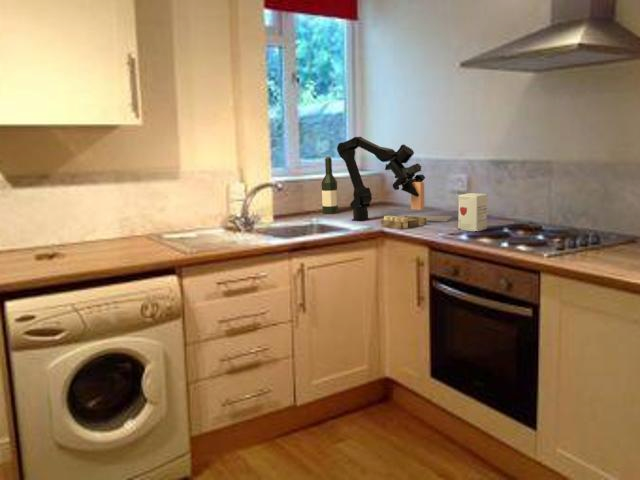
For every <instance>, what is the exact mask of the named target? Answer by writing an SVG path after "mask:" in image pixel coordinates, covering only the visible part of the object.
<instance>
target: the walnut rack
mask: <svg viewBox="0 0 640 480" xmlns="http://www.w3.org/2000/svg"><path fill="white" fill-rule="evenodd" d="M413 216H414V215H404V217H406V218H408V228H406V229H405V230H407V229H412V228H417V227H421V226H427V222H426V218H422V217H413ZM381 228H388V229H393V230H394V229H395V230H404V229H403V222H396V221H388V220H384V219H381Z"/></svg>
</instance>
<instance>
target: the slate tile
mask: <svg viewBox="0 0 640 480" xmlns="http://www.w3.org/2000/svg"><path fill="white" fill-rule="evenodd" d="M412 216H413V217H422V218H426V223H431V222H432V223H447V222H448V221H452V220H453V216H452V215H451V216H450V215H449V216H448V215H444V216H443V215H412Z"/></svg>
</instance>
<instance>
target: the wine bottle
mask: <svg viewBox="0 0 640 480" xmlns="http://www.w3.org/2000/svg"><path fill="white" fill-rule="evenodd" d="M324 162H325V163H324V165H325V175H324V177H323V179H322V181H321V201H322V214H323V215H335V214H338V213H339V201H338V200H339V198H338V196H339V195H338V180H337V179H336V178H335V176H334V175H333V165H332V163H333V162H332V158H331V156H326V157H325V159H324Z"/></svg>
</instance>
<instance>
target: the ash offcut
mask: <svg viewBox="0 0 640 480" xmlns="http://www.w3.org/2000/svg"><path fill="white" fill-rule="evenodd" d="M395 217H398V216H396V215H384V216H383V220H388V221H395Z"/></svg>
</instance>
